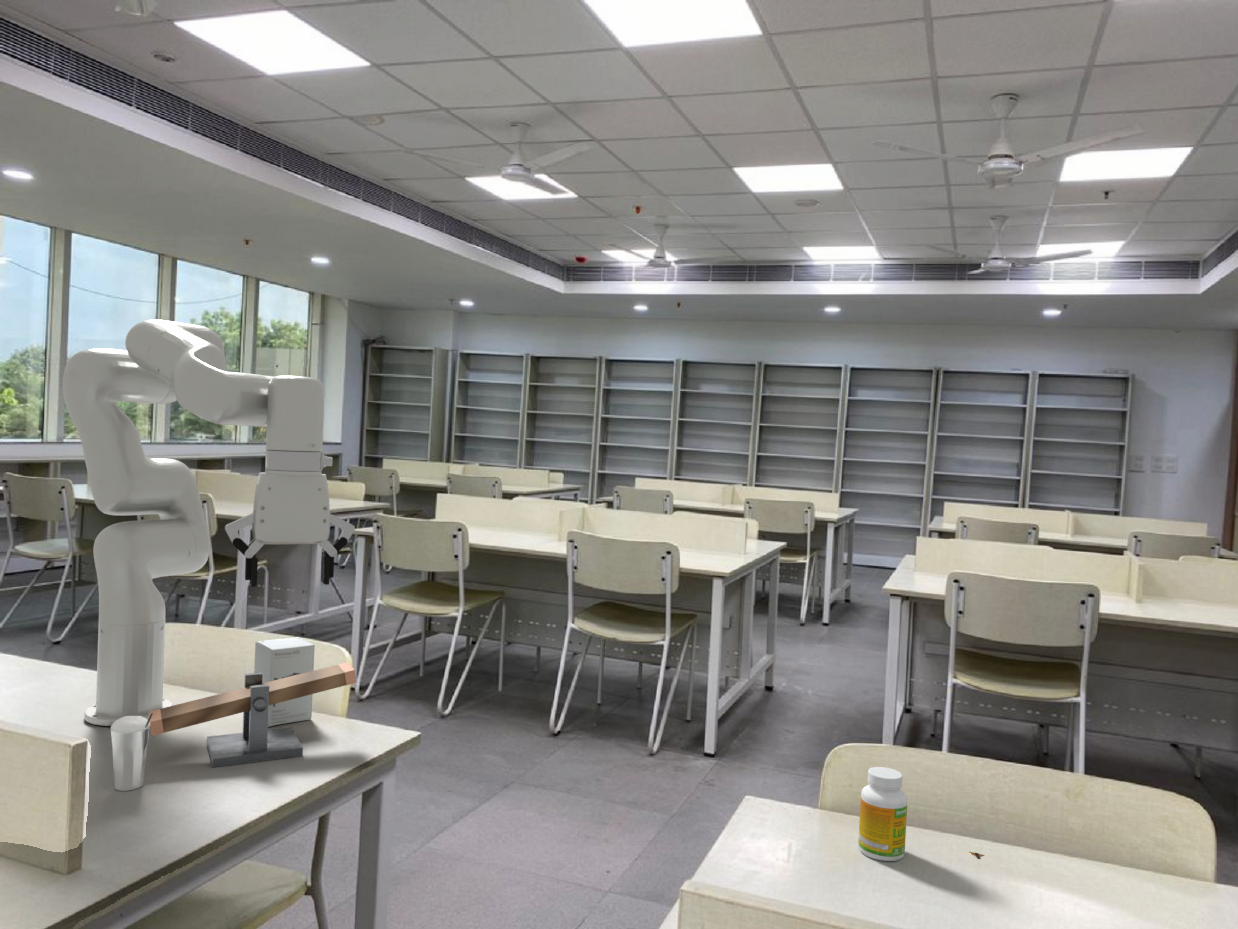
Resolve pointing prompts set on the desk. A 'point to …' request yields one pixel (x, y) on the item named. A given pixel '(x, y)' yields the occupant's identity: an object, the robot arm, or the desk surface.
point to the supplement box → (285, 674)
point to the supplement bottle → (883, 815)
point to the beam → (240, 698)
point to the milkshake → (129, 751)
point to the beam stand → (254, 733)
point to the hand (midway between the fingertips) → (289, 584)
